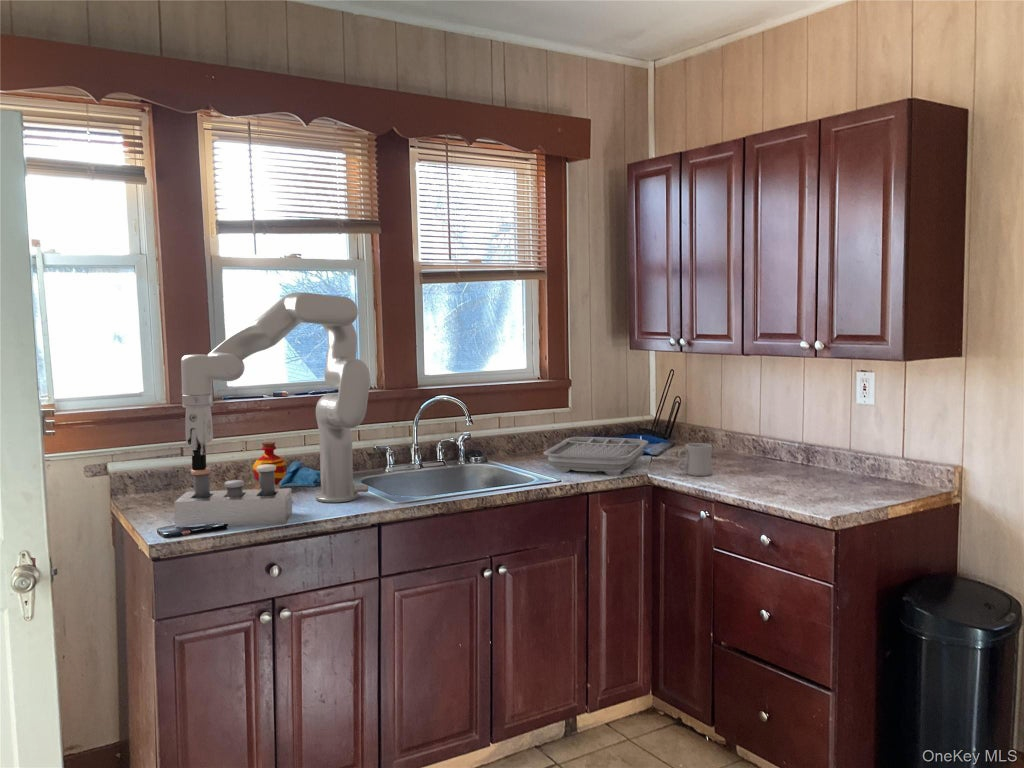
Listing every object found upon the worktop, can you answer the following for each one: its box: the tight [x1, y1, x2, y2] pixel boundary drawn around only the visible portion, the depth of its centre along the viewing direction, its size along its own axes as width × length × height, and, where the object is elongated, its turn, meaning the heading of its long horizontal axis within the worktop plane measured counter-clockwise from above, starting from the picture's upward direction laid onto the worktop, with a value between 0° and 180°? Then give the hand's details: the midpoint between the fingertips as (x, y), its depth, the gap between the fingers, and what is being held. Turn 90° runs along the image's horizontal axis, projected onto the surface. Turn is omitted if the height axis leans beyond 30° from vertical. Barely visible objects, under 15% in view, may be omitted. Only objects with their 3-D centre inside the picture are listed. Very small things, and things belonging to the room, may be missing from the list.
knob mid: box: [224, 479, 245, 497], centre depth 220 cm, size 5×5×8 cm
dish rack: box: [543, 436, 649, 476], centre depth 291 cm, size 32×37×8 cm
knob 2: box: [257, 465, 276, 496], centre depth 221 cm, size 5×5×8 cm
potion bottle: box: [252, 441, 287, 486], centre depth 257 cm, size 10×10×15 cm
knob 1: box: [190, 466, 212, 498], centre depth 219 cm, size 5×5×8 cm
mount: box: [174, 487, 293, 528], centre depth 220 cm, size 28×12×7 cm, turn 97°
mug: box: [677, 442, 713, 477], centre depth 276 cm, size 12×9×10 cm
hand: (199, 469), depth 218 cm, fingers closed
